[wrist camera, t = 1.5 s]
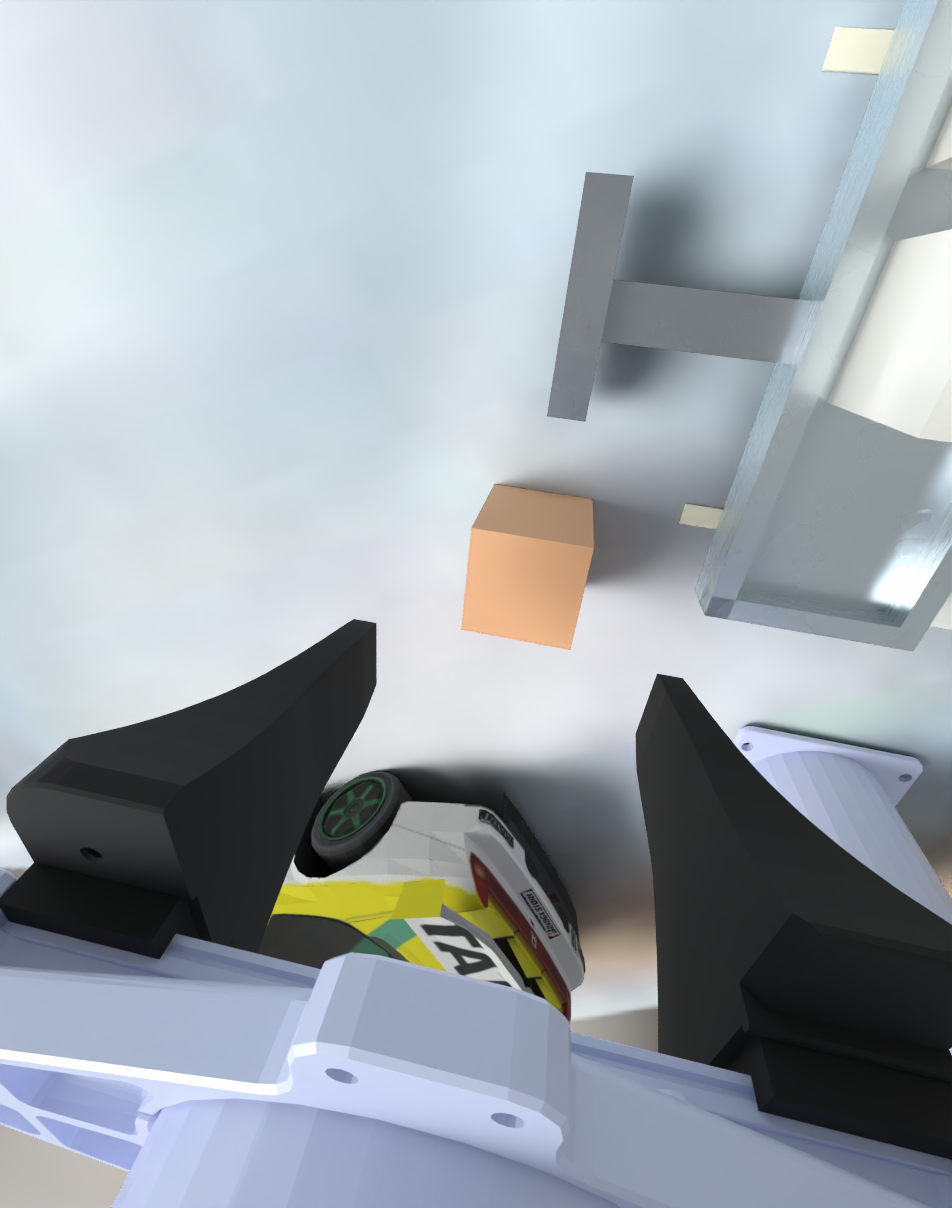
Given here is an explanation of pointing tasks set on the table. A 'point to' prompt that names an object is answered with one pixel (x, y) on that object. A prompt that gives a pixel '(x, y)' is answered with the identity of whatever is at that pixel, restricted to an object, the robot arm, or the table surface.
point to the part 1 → (905, 343)
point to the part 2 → (943, 147)
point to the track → (848, 55)
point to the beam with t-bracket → (805, 381)
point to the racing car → (427, 892)
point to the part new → (528, 565)
